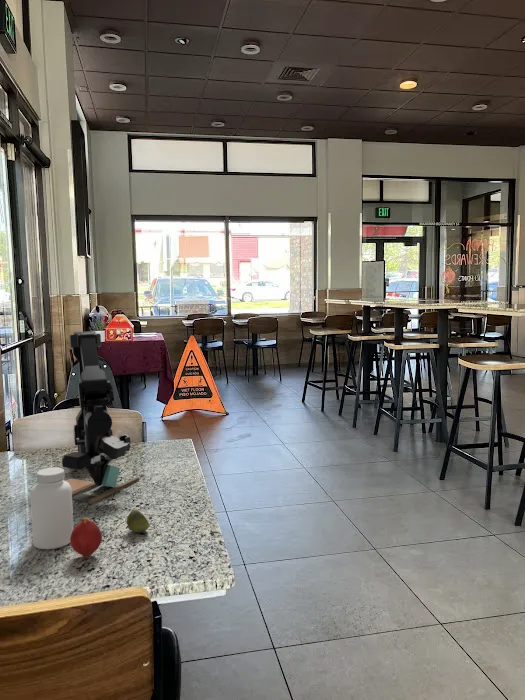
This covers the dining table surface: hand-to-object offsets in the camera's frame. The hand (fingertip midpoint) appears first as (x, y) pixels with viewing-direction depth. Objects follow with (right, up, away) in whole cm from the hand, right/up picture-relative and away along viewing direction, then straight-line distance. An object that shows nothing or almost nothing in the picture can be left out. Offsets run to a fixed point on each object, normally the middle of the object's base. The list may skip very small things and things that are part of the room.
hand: (98, 485), depth 144 cm
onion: (+8, -6, -35) cm, 36 cm away
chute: (+1, -1, +2) cm, 2 cm away
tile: (-8, -1, +3) cm, 9 cm away
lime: (+16, -4, -25) cm, 29 cm away
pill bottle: (-1, -5, -29) cm, 29 cm away
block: (+1, 0, +2) cm, 2 cm away
